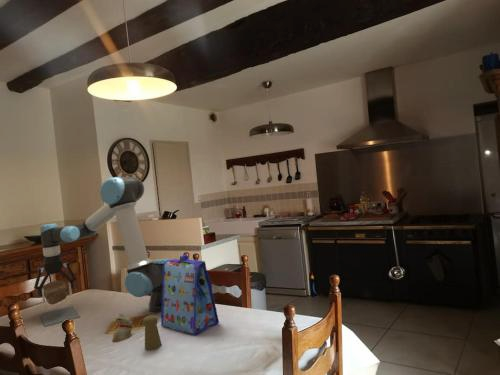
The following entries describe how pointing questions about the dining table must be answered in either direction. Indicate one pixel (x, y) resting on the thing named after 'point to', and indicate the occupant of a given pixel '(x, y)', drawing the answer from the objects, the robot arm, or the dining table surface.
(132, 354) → the dining table surface
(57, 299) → the block
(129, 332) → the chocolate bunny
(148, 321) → the cork
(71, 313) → the mat
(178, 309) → the lunch bag
